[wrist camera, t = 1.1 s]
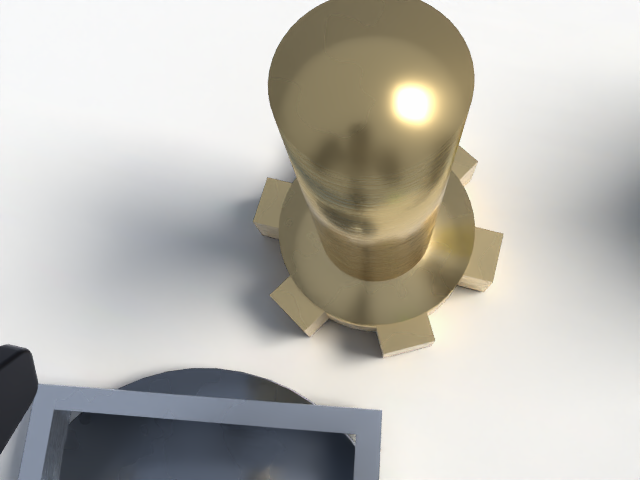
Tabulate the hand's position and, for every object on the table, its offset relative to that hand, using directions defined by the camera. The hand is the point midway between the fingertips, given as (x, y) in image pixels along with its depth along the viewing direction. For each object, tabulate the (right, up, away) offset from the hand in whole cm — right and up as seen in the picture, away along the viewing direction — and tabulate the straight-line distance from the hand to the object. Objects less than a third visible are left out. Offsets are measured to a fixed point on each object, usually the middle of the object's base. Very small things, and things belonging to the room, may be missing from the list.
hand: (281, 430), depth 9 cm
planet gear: (+3, +3, +14) cm, 14 cm away
